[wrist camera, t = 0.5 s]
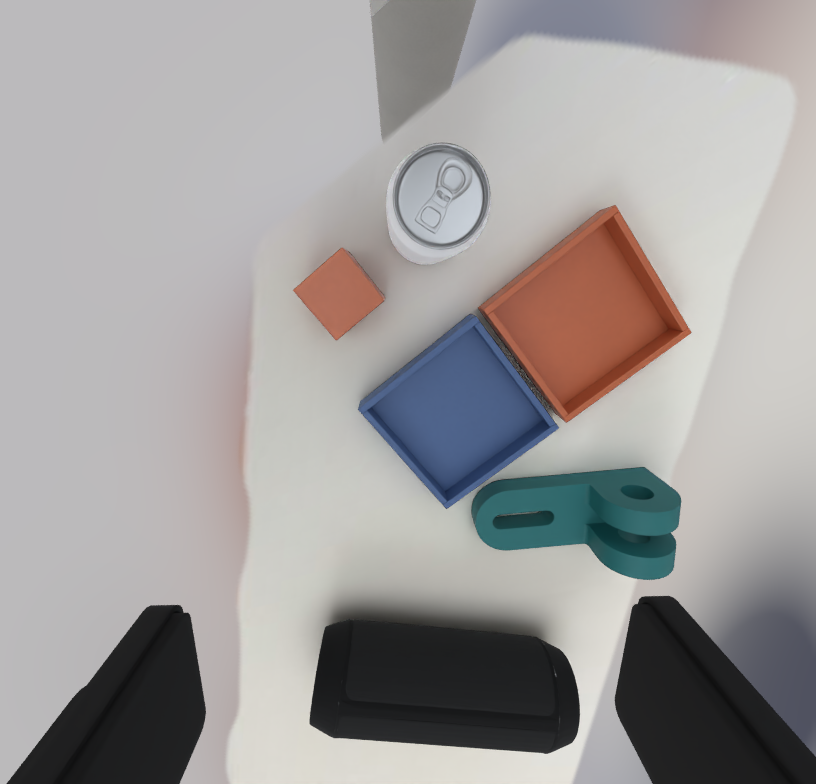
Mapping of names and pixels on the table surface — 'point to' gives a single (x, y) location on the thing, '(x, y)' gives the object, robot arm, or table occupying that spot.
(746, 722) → the robot arm
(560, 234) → the table surface
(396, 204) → the can
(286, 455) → the table surface
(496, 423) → the blue tray
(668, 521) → the bracket
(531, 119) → the table surface
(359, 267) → the block
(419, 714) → the portable speaker
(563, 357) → the terracotta tray
